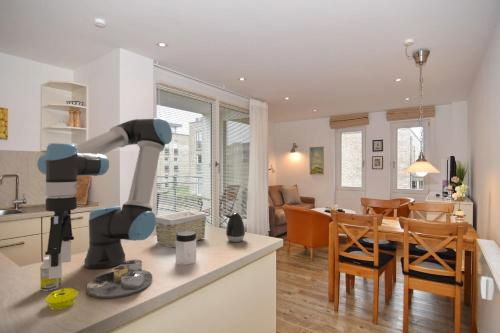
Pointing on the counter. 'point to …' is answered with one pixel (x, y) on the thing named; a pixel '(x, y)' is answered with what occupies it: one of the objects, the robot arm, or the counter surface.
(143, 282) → the carrier
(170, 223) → the storage basket
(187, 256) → the jar
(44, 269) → the supplement bottle
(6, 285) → the counter surface
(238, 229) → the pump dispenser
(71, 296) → the gear
